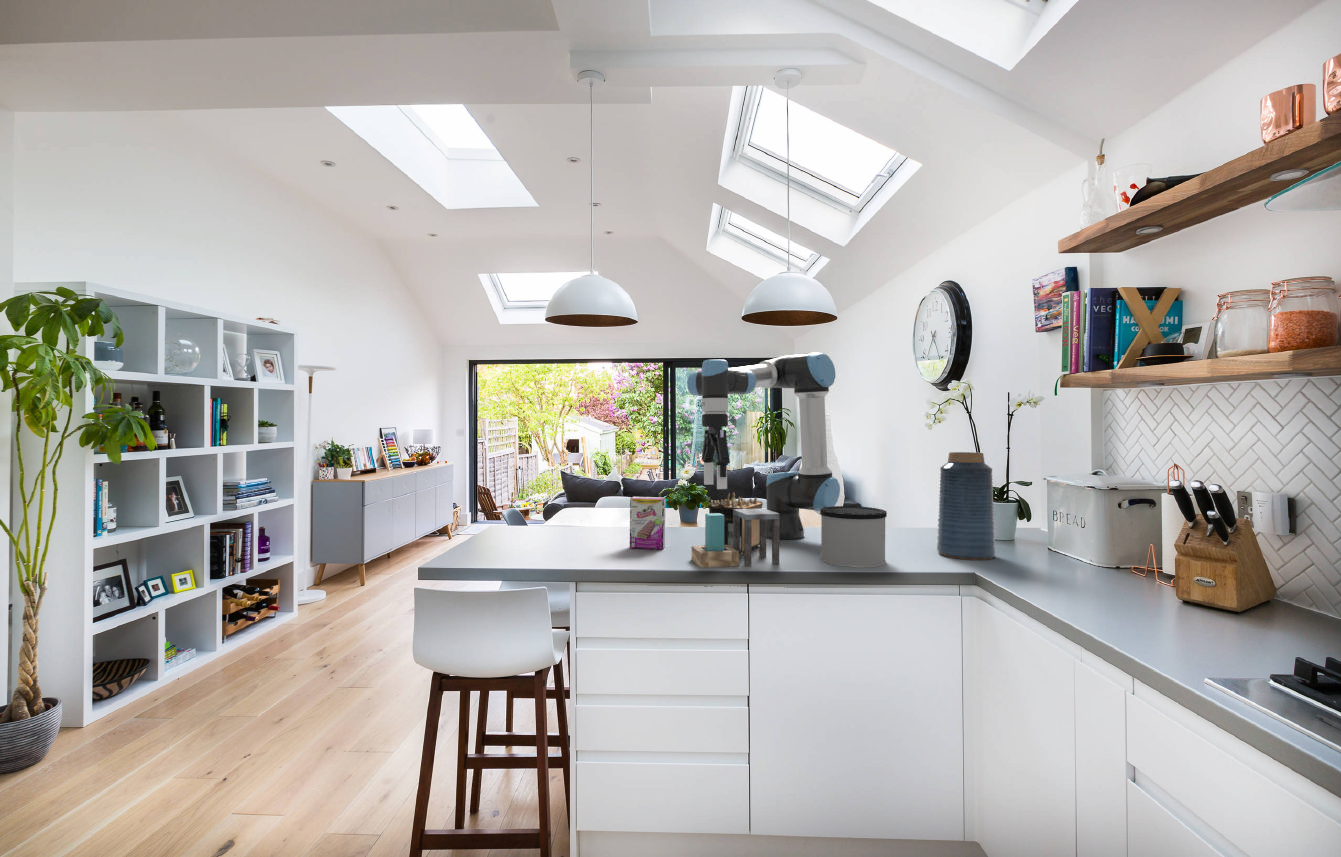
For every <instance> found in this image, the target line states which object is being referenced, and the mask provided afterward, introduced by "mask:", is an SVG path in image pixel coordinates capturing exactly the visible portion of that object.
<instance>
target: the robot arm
mask: <svg viewBox="0 0 1341 857" xmlns="http://www.w3.org/2000/svg"><path fill="white" fill-rule="evenodd" d="M835 379H836V368H835V364H834V363H833V360H832V359H831V357H830V356H829V355H827V354H826V353H825V352H824V353H823V352H808V353H799V354H792V355H791V354H789V355H783V356H779V357H776V358H771V359H767V360H763V361H760V362H759V363H758V364H753V365H745V366H737V367H730V368H729V363H728V361H727V360H726V359H720V358H719V359H712V358H711V359H706V360H703V362H702V366H701V371H696V372H691V373H690V374H689V376H688V377H687V380H686V385H687V389H688V392H689V393H690V394H691V395H693V396H696V397H697V396H698V397H701V401H700V404H699V405H701V408H702V410H701V411H702V413H703V414H702V415H701V426H702V427H703V428H706V427H707V429H704V439H703V448H702V452H701V454H702V455H701V460H702V461H703V484H704V485H708V486H709V485H714V463H715V459H714V457H715V456H716V460H717V462H716V463H715V466H716V490H728V465H729V464H730V463H731V460H730V453H729V447H728V440H727V430H726V429H723V428H726V427H728V426H729V415H728V412H729V395H740V396H741V395H748V394H751V393H752V392H753V391H754V390H755V388H758V387H759V388H760V387H761V388H762V389H771V388H774V389H775V388H777V389H793V390H794V391H793V392H794V395H795V396H796V397H797V398H798V402H799V403H798V404H799V425H800V426H799V428H800V429H799V430H800V431H799V432H800V450H801V451H800V452H801V467H800V469H798V471H797V470H796V471H786V472H775V473H773V472H772V473H769V474H768V475H767V477H766V484H765V487H766V490H765V491H766V509H767V510H770V511H773V512H776V513H779V540H794V539H795V540H796V539H802V538H804V537H805V529H804V526H803V523H802V520H801V516H800V509H801V510H809V511H816V512H820V509H821V508H825V507H832V506H837V505H836V504H838V501H839V498H840V494H841V485H840V482H839V480H838V479H837V478H835V477H834V476H833V470H832V469H831V468H829V467H828V452H827V450H828V449H827V447H828V446H827V425H826V422H827V421H826V401H825V400H826V399H825V398H826V396H827V395H828V393H829V392H830V387H831V386H833V384H834V383H835ZM714 455H715V456H714ZM766 538H768V539H769V538H770V539H772V519H766Z"/></svg>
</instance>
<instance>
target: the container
mask: <svg viewBox="0 0 1341 857" xmlns="http://www.w3.org/2000/svg"><path fill="white" fill-rule="evenodd" d="M887 513H888V512H887V510H884V509H882V508H878V507H877V508H876V507H867V506H854V505H853V506H851V505H835V506H832V507H825V508H821V509H820V511H819V515H821V520H820V521H821V523H820V524H821V530H820V531H821V532H820V534H821V536H820V537H821V540H820V542H821V544H820V545H821V547H820V548H821V549H820V551H821V552H820V555H821V556H820V560H821V561H822V562H825V563H827V564H830V565H835V566H839V567H840V566H841V567H847V568H848V567H849V568H876V567H881V566H883V565H885V564H886V562H887V561H886V518H887V515H888V514H887Z"/></svg>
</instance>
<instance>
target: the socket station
mask: <svg viewBox="0 0 1341 857" xmlns="http://www.w3.org/2000/svg"><path fill="white" fill-rule="evenodd" d="M740 518H743V519H744V555H743V556H744V557H743V562H744V563H743V564H744V566H746V567H749V566H750V567H751V566H752V552H751V543H752V520H759V546H758V547H759V548H758V549H759V551H758V552H759V553H758V554H759V555H758V556H759V557H760V558H767V537H766V519H772V538H771V564H772V565H776V566H777V565H780V539H779V513H776V512H773V511H770V510H767V508H762V509H733V548H732V547H730V546H728V545H724V551H707V552H706V551H705V545H692V546H691V561H693V562H694V563H695V564H696V565H698V567H700V568H718V567H719V568H722V567H739V564H740V563H739V561H740V558H741V556H740Z"/></svg>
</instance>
